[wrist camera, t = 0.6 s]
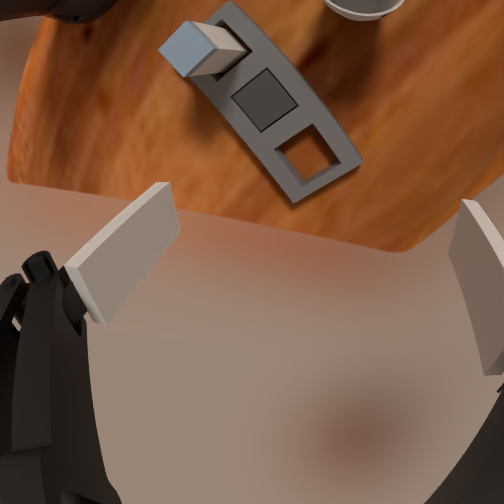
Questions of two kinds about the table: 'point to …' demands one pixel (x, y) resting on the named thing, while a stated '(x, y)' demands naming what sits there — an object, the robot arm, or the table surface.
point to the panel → (273, 106)
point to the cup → (363, 8)
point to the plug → (202, 49)
